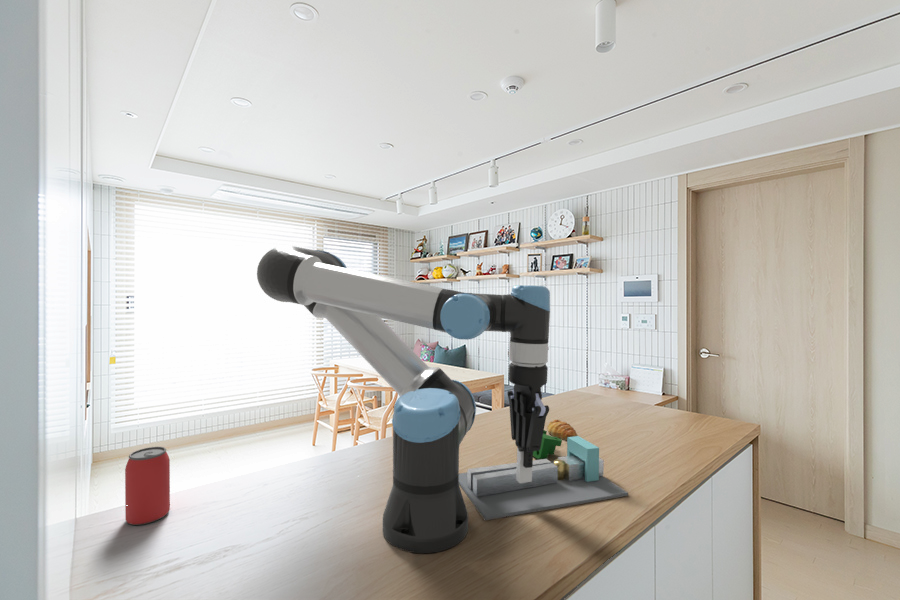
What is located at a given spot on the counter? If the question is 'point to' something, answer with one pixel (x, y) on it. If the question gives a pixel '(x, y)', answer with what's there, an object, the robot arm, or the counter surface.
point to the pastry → (561, 430)
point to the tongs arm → (513, 480)
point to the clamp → (547, 446)
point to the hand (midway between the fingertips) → (523, 480)
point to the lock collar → (585, 456)
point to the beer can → (147, 485)
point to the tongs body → (566, 465)
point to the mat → (541, 496)
